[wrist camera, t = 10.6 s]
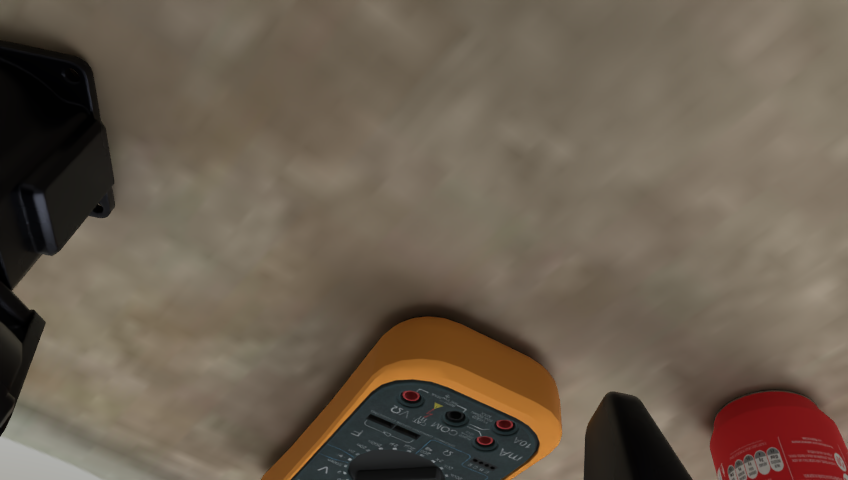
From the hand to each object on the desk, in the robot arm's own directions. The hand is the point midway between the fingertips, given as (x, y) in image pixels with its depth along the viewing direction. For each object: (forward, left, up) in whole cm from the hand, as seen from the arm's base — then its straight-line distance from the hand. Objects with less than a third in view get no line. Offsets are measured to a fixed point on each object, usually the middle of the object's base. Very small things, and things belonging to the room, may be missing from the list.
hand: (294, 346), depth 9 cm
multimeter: (+3, -21, -13) cm, 25 cm away
